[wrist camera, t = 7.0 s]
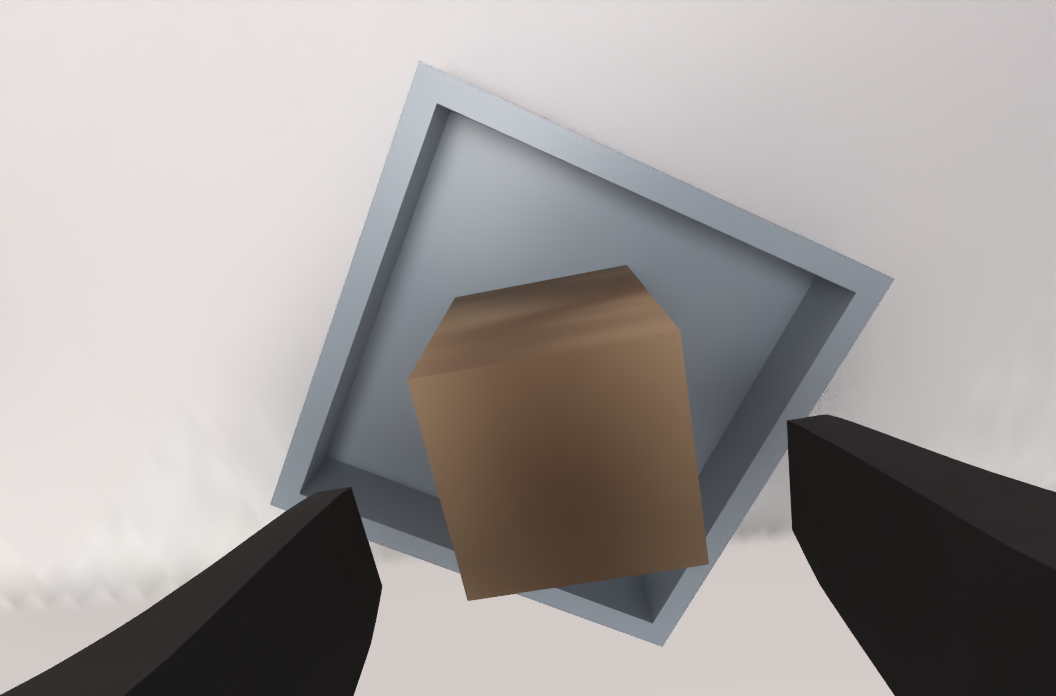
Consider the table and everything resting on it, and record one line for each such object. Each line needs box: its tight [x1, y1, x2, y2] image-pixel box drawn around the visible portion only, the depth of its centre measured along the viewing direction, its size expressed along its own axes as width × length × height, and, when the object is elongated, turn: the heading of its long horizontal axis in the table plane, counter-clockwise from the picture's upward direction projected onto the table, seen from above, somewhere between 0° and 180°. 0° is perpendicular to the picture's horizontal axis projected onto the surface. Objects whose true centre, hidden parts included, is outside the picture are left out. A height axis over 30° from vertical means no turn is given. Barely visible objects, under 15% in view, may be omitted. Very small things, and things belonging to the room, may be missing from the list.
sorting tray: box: [270, 61, 894, 647], centre depth 15 cm, size 11×11×2 cm
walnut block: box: [407, 265, 709, 601], centre depth 13 cm, size 4×4×6 cm
